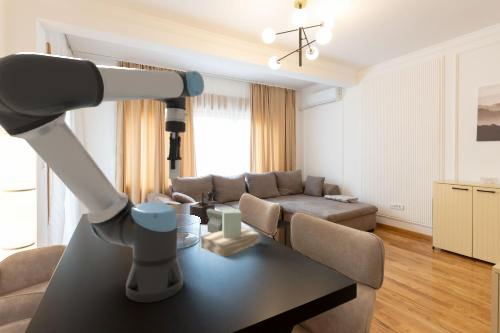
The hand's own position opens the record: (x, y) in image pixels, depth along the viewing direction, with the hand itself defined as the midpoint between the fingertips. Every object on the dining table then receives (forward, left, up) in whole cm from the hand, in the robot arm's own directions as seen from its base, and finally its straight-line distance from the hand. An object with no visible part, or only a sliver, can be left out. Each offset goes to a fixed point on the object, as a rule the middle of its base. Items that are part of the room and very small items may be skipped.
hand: (174, 177), depth 95 cm
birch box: (+2, -23, -30) cm, 37 cm away
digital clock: (+22, -21, -29) cm, 42 cm away
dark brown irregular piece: (+41, -15, -29) cm, 53 cm away
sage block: (+2, -23, -25) cm, 34 cm away
